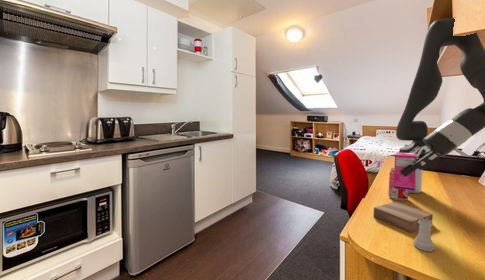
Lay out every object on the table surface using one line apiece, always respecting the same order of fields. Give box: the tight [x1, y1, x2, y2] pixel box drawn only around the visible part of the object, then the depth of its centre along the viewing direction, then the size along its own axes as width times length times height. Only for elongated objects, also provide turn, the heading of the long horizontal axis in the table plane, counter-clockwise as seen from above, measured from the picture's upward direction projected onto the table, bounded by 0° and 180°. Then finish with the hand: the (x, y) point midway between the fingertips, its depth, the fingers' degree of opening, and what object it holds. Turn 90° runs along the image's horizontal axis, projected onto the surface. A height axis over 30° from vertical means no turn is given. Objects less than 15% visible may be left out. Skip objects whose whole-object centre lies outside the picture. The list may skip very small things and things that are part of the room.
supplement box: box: [394, 151, 416, 191], centre depth 74 cm, size 6×6×12 cm
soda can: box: [388, 167, 410, 202], centre depth 96 cm, size 7×7×13 cm
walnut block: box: [373, 201, 433, 234], centre depth 76 cm, size 12×12×4 cm
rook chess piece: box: [413, 218, 435, 253], centre depth 61 cm, size 4×4×8 cm
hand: (399, 171), depth 75 cm, fingers closed on supplement box, 7 cm apart
